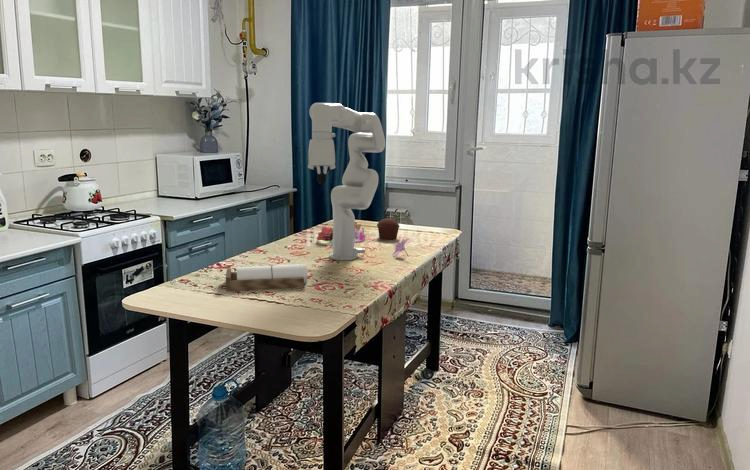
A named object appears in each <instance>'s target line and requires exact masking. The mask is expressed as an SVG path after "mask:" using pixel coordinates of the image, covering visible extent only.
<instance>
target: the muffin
mask: <svg viewBox="0 0 750 470" xmlns="http://www.w3.org/2000/svg"><path fill="white" fill-rule="evenodd" d="M376 227H377V232H378V236H379V237H378V238H379V240H381V241H382V240H383V241H395V240H397V239H398V231H399V228H400V224H399V223H398V222H397V220H395V219H393V218H387V217H386V218H383V219H381V220H379V221H378V222H377V224H376Z"/></svg>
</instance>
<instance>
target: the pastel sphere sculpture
mask: <svg viewBox="0 0 750 470" xmlns="http://www.w3.org/2000/svg"><path fill="white" fill-rule="evenodd" d="M361 227H362V228H361ZM365 240H366V234H365V227H364V226H362V223H360V224H358V221H357V220H355V244H356V243H361V242H364V241H365ZM316 243H317V244H319V245H324V246H333V226H331V227H329V226H327V225H325V226H323V227H322V228H321V231H319V232H318V234H317V237H316Z"/></svg>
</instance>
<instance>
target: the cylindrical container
mask: <svg viewBox="0 0 750 470" xmlns="http://www.w3.org/2000/svg"><path fill="white" fill-rule="evenodd" d="M236 272H237V280H251V279H276V278H301V277H304V284H307V283H308V269H307V264H305V263H301V264H298V263H297V264H282V265H281V264H279V265H277V264H276V265H258V266H257V265H256V266H253V265H252V266H237V267H236Z"/></svg>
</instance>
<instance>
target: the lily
mask: <svg viewBox="0 0 750 470" xmlns="http://www.w3.org/2000/svg"><path fill="white" fill-rule="evenodd" d="M409 240H410V238H409V237H408V238H405V237H403V238H402V240H401V241H400V242H399V241H398V242H395V243H394V245H393V247H394V252H393V253H392V255H393V256H394V260H396V259H397V257H399V254H400V253H403V252H405V253H406V255H407V256H409V255H408V253H407V251H406V247H405V245H406V244H407V242H408V241H409Z"/></svg>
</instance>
